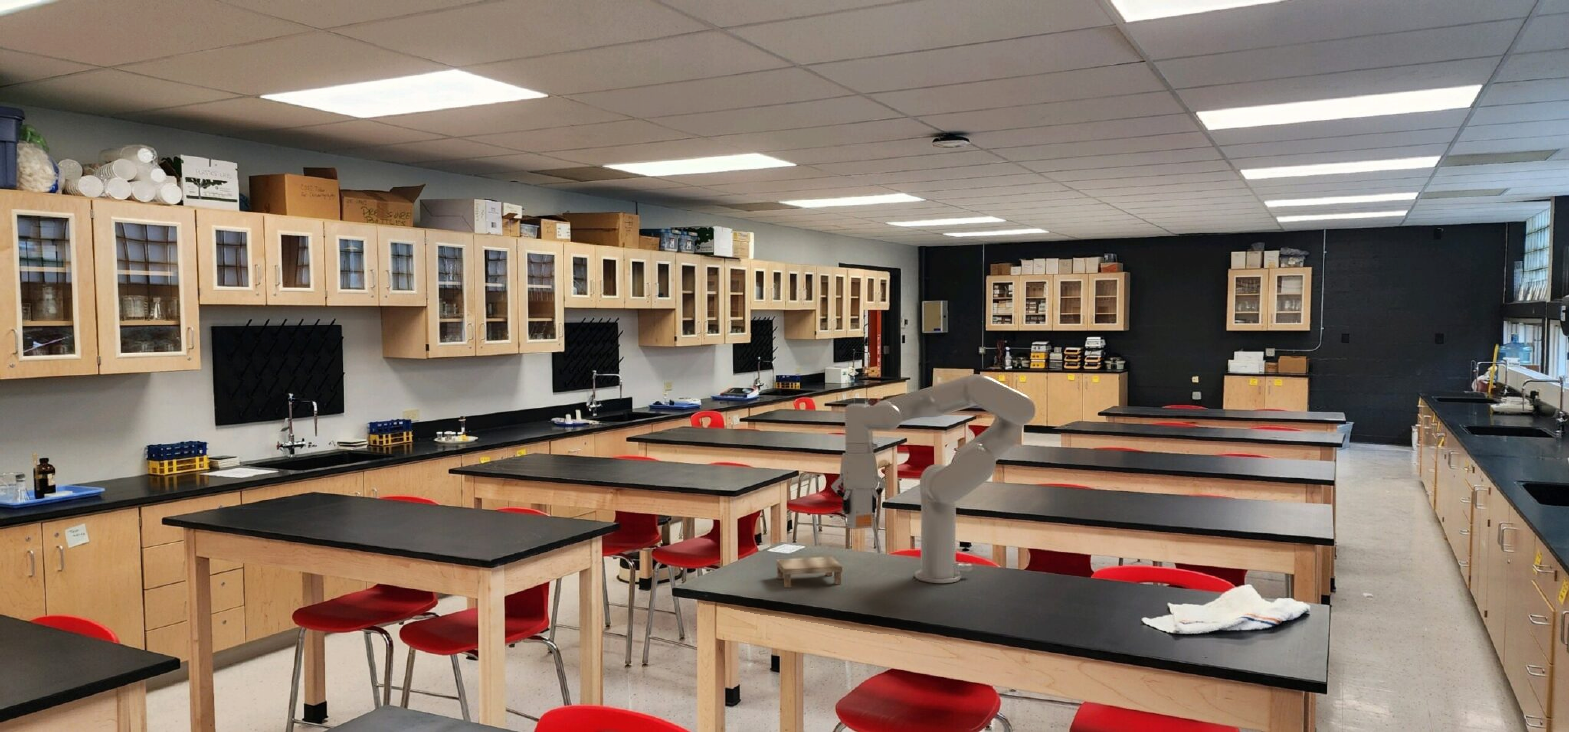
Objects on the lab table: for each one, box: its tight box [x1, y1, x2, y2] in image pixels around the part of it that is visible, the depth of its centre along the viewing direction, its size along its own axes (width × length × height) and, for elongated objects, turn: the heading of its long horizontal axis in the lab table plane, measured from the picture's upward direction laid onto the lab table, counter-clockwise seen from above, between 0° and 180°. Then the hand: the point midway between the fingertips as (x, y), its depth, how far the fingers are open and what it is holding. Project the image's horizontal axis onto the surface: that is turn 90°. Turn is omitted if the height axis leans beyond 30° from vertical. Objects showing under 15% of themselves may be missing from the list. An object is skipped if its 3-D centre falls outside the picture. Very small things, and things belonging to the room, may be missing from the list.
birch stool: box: [775, 556, 843, 588], centre depth 260 cm, size 16×11×5 cm
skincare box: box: [846, 486, 873, 530], centre depth 262 cm, size 6×4×12 cm
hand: (859, 512), depth 262 cm, fingers closed on skincare box, 6 cm apart
